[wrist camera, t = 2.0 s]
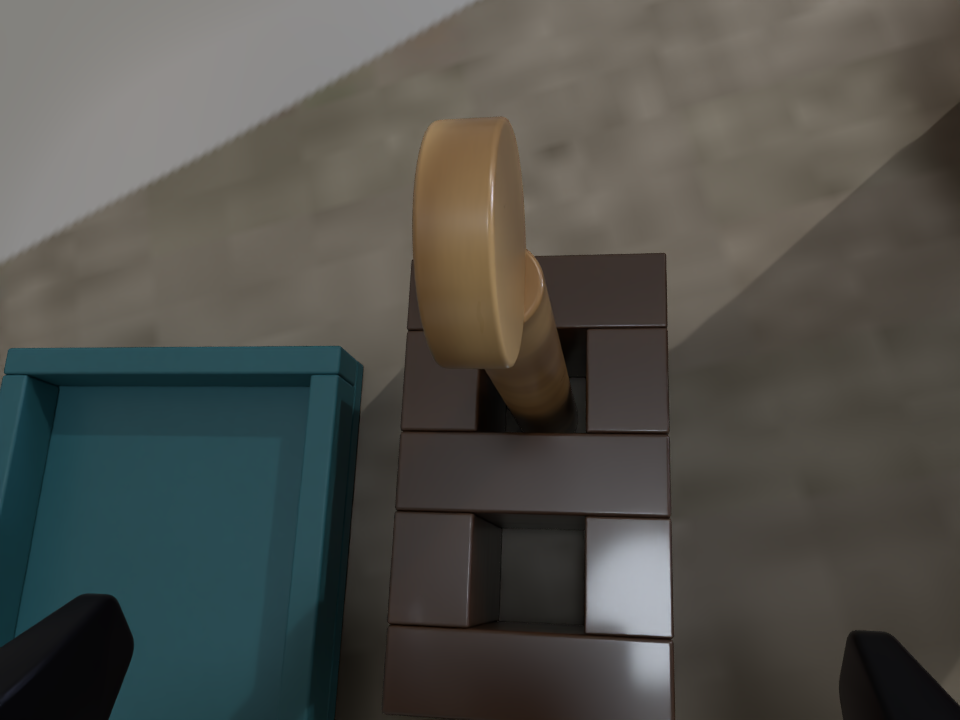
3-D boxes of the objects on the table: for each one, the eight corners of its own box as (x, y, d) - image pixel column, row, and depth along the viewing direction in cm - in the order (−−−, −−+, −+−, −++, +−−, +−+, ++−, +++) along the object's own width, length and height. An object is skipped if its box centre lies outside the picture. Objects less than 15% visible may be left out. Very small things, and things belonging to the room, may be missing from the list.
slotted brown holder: (664, 705, 20) (675, 736, 16) (428, 690, 21) (379, 714, 17) (657, 314, 23) (665, 251, 19) (448, 317, 24) (411, 258, 20)
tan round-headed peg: (577, 481, 22) (515, 325, 9) (518, 480, 22) (376, 326, 9) (578, 360, 23) (523, 60, 10) (522, 360, 23) (397, 68, 10)
